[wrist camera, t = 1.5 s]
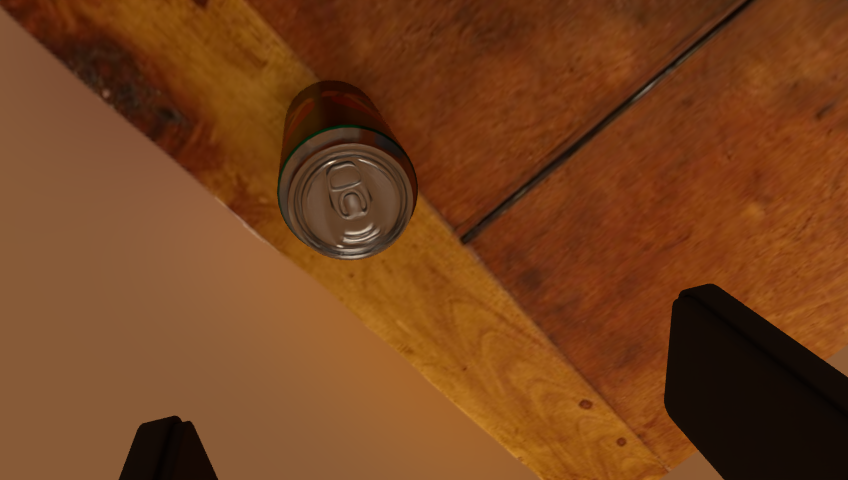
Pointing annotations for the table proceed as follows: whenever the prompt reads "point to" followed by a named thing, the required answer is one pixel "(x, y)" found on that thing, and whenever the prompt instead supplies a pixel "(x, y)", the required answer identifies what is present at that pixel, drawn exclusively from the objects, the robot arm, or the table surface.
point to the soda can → (343, 174)
